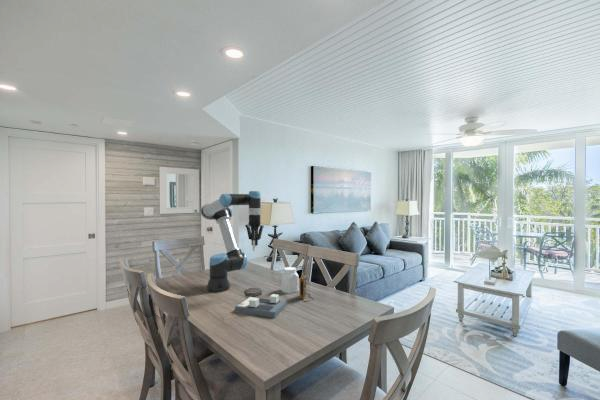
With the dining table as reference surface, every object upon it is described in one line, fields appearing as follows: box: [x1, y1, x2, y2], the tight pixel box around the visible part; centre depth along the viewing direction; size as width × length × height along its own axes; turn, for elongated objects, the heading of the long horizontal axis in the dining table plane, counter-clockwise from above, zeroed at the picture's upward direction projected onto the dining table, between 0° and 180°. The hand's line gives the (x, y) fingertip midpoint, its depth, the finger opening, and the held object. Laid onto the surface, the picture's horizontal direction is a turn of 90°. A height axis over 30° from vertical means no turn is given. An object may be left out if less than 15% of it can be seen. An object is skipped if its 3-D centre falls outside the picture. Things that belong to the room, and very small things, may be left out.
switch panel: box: [234, 296, 287, 319], centre depth 157 cm, size 24×16×3 cm, turn 71°
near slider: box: [249, 297, 260, 307], centre depth 154 cm, size 4×4×4 cm
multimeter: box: [299, 264, 315, 303], centre depth 175 cm, size 15×10×20 cm
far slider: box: [269, 293, 280, 303], centre depth 159 cm, size 4×4×4 cm
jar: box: [281, 266, 300, 294], centre depth 189 cm, size 12×10×15 cm
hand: (254, 250), depth 183 cm, fingers closed
